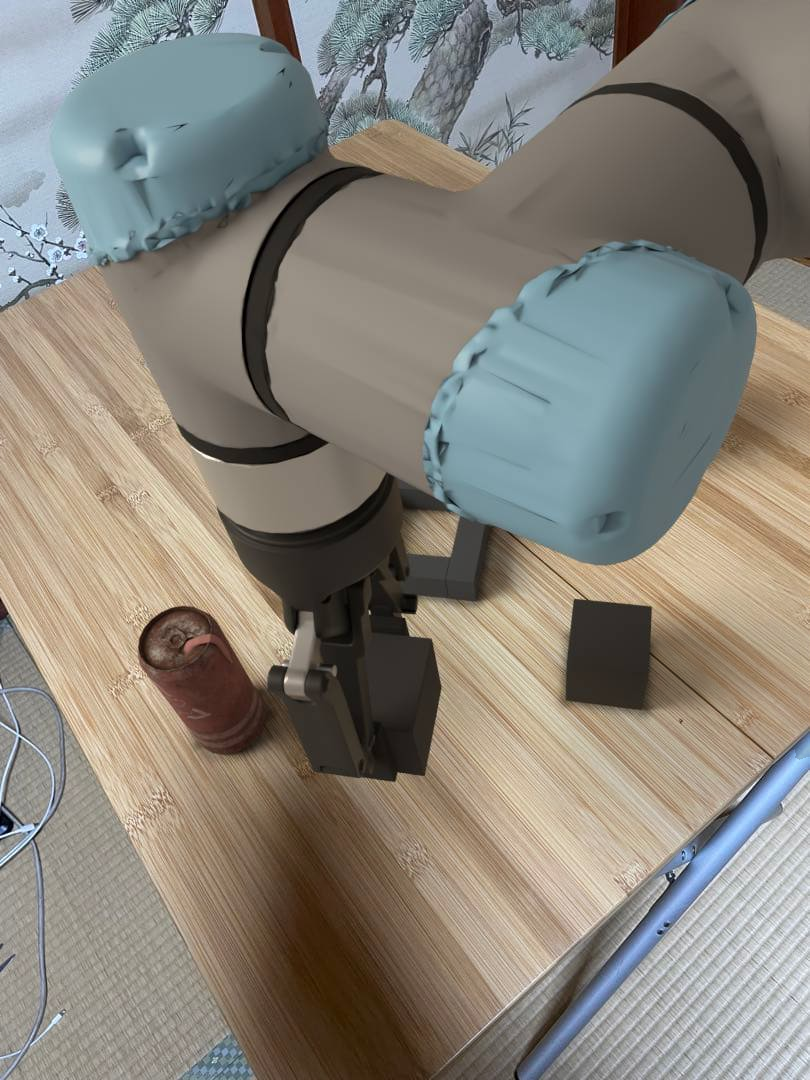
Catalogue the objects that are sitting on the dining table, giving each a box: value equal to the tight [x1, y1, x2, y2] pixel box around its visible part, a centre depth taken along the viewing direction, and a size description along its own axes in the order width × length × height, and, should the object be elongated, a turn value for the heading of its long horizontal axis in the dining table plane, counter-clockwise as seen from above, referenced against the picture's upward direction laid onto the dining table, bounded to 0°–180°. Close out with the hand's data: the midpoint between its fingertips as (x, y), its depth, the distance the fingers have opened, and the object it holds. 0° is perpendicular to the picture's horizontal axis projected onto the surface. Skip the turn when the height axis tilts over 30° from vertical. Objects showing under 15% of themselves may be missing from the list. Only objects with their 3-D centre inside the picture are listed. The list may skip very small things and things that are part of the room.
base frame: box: [397, 478, 492, 602], centre depth 82 cm, size 13×23×3 cm, turn 168°
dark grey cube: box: [364, 632, 443, 777], centre depth 50 cm, size 6×6×6 cm
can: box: [137, 605, 267, 756], centre depth 65 cm, size 6×6×14 cm
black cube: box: [565, 598, 653, 711], centre depth 66 cm, size 6×6×6 cm
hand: (386, 721), depth 52 cm, fingers closed on dark grey cube, 6 cm apart
